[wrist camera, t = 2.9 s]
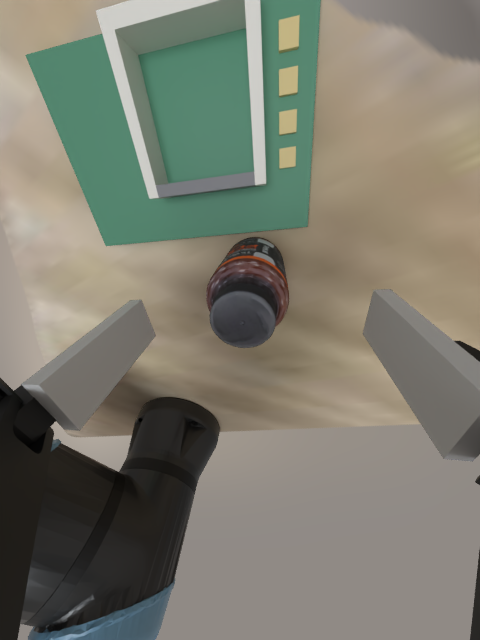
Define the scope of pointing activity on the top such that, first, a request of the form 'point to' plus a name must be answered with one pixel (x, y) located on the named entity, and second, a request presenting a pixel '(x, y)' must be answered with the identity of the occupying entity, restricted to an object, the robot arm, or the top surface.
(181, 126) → the board
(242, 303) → the supplement bottle
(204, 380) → the top surface
